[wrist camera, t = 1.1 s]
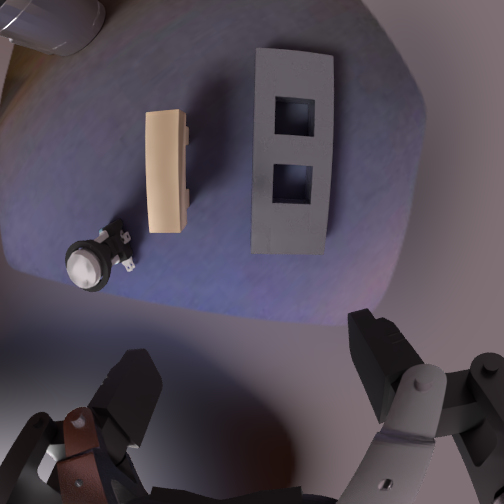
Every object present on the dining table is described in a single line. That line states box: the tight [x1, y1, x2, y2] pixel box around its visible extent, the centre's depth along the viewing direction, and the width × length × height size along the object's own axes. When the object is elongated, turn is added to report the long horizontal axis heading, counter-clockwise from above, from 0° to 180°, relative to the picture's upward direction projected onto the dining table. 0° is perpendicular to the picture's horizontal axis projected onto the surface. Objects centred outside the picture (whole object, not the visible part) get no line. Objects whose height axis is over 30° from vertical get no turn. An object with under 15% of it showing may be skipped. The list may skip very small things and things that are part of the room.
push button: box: [65, 219, 135, 292], centre depth 27 cm, size 7×5×10 cm
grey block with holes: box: [250, 48, 334, 255], centre depth 27 cm, size 8×22×3 cm, turn 179°
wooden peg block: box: [146, 109, 189, 233], centre depth 25 cm, size 3×11×7 cm, turn 179°
